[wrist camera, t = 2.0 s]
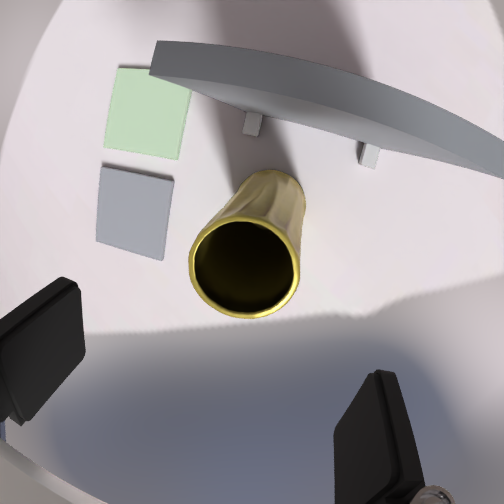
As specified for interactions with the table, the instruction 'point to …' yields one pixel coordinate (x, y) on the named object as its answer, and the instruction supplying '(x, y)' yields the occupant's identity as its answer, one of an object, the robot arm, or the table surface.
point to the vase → (251, 248)
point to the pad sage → (146, 114)
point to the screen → (327, 103)
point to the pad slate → (133, 212)
